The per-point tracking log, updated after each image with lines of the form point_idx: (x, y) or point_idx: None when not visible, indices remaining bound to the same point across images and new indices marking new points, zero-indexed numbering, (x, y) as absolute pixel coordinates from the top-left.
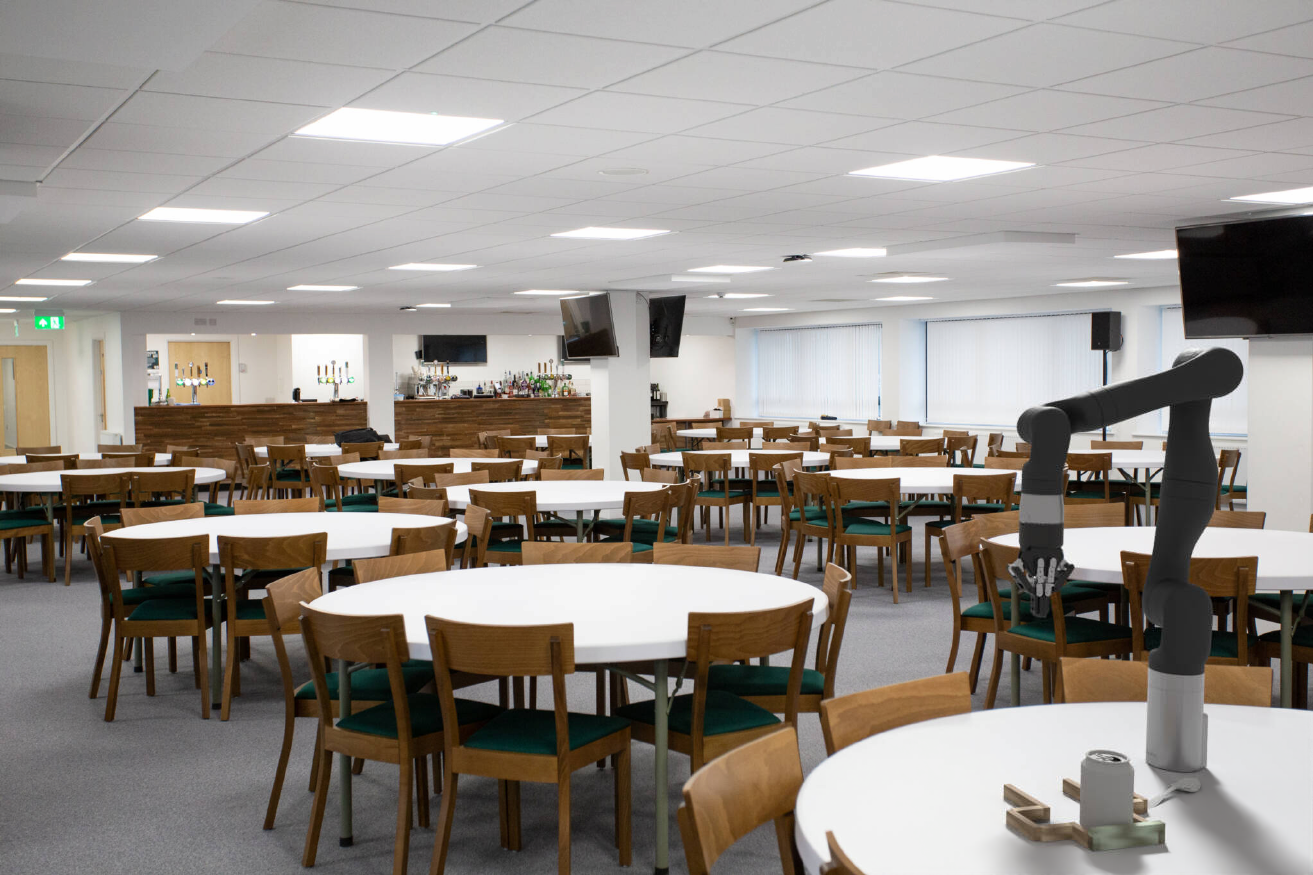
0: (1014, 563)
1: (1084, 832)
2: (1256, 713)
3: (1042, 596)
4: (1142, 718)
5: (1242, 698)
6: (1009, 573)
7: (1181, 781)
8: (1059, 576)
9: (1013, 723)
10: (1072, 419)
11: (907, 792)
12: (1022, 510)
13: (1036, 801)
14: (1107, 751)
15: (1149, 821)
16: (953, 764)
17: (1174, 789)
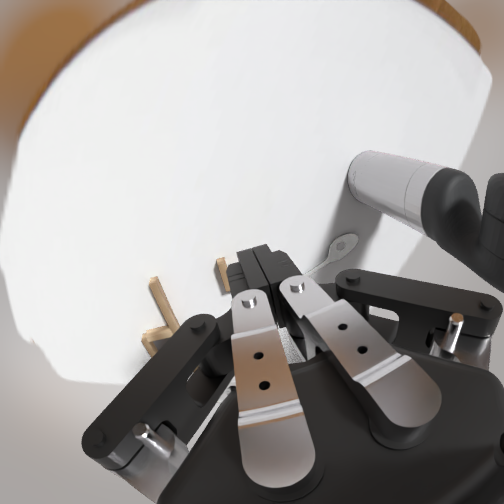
0: (131, 483)
1: (193, 371)
2: (475, 68)
3: (278, 321)
4: (404, 39)
5: (476, 36)
6: (107, 407)
7: (345, 236)
8: (402, 343)
9: (255, 15)
10: None
11: (65, 271)
12: None
13: (171, 323)
14: (232, 382)
15: None
16: (116, 179)
17: (323, 265)
